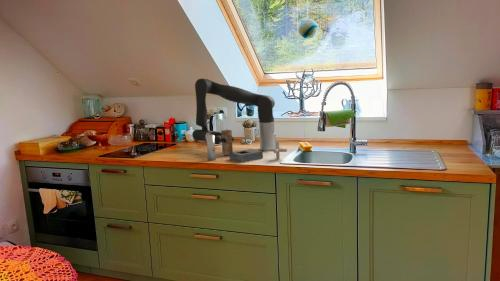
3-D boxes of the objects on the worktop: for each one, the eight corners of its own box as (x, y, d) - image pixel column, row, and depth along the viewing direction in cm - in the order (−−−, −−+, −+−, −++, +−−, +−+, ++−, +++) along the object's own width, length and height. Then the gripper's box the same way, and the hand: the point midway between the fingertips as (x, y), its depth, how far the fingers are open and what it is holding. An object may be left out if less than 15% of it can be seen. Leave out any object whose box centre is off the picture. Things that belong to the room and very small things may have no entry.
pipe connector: (289, 157, 213) (288, 139, 211) (284, 161, 203) (283, 142, 202) (272, 156, 216) (271, 139, 215) (266, 160, 207) (265, 142, 206)
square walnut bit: (228, 152, 227) (227, 129, 225) (232, 153, 224) (231, 130, 222) (222, 154, 225) (221, 130, 223) (226, 155, 221) (225, 131, 219)
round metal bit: (213, 158, 217) (211, 134, 215) (217, 160, 213) (216, 135, 211) (206, 160, 214) (205, 135, 212) (210, 161, 211) (209, 136, 209)
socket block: (251, 155, 222) (250, 148, 221) (262, 158, 213) (262, 151, 213) (229, 159, 213) (229, 152, 212) (241, 162, 204) (240, 155, 204)
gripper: (203, 132, 230) (218, 135, 216) (223, 129, 238) (239, 132, 224) (204, 144, 231) (219, 148, 217) (224, 141, 239) (239, 144, 226)
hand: (229, 140), depth 221 cm, fingers closed on square walnut bit, 4 cm apart
